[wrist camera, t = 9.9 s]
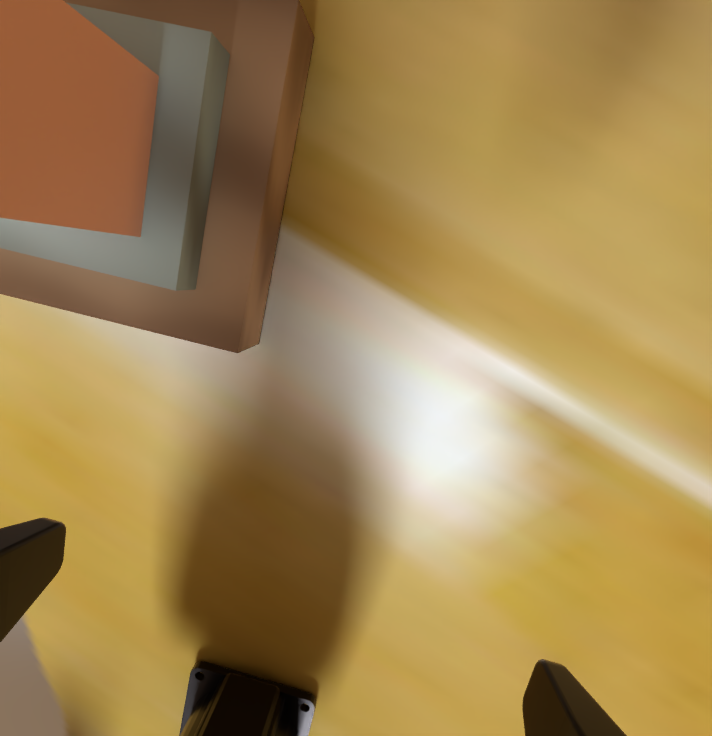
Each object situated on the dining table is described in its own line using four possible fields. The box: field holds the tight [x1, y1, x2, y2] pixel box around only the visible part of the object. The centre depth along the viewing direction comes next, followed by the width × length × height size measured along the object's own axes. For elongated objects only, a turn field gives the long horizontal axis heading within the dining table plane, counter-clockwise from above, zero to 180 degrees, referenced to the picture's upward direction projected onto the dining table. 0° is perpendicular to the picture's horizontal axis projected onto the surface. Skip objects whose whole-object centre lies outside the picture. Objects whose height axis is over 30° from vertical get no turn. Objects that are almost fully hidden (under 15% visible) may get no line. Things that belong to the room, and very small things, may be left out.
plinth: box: [0, 0, 314, 353], centre depth 17 cm, size 12×12×4 cm
